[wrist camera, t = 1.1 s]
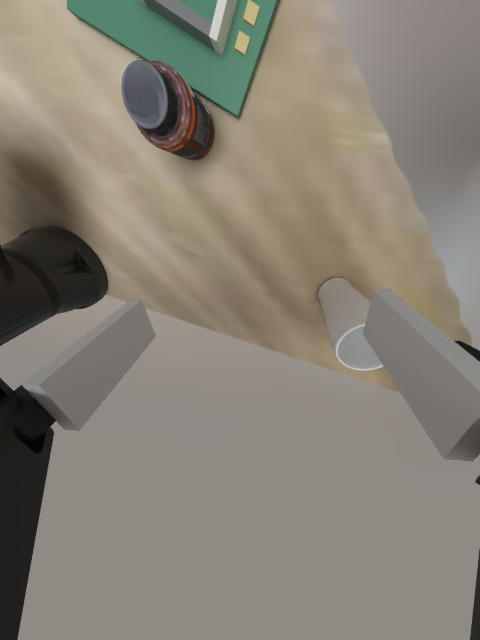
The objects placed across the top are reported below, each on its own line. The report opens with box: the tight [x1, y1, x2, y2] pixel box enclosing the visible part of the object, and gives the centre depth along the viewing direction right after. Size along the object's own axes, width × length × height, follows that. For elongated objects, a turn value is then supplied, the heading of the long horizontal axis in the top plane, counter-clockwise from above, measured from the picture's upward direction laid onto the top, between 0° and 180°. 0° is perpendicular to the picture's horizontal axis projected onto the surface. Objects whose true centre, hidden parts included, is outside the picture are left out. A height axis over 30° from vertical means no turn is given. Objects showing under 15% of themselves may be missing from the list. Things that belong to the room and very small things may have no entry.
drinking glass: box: [318, 278, 383, 370], centre depth 28 cm, size 7×7×15 cm
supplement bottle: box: [122, 60, 214, 160], centre depth 21 cm, size 6×6×11 cm
